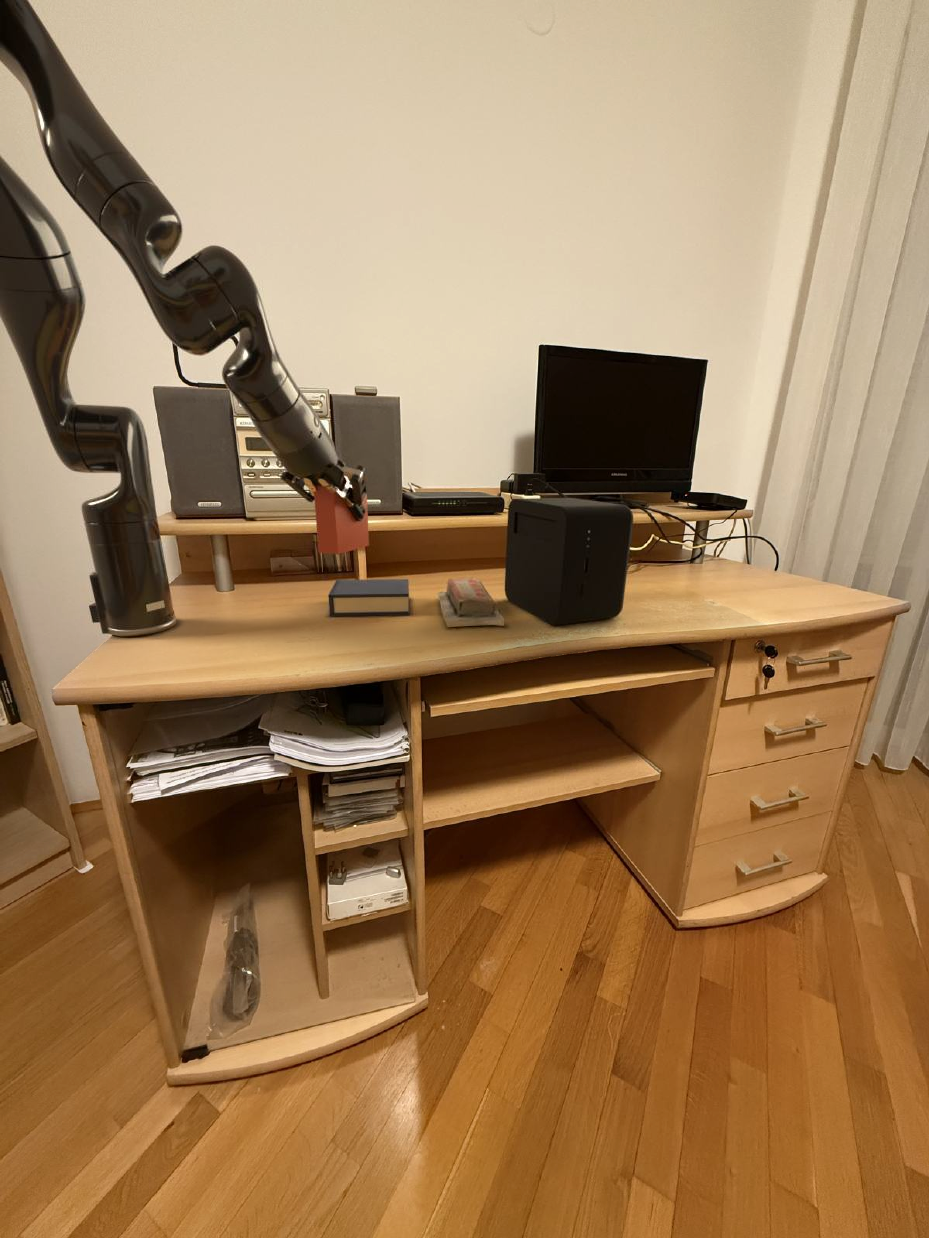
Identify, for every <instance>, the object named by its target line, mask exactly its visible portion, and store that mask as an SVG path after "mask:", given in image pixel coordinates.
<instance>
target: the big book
mask: <svg viewBox="0 0 929 1238" xmlns="http://www.w3.org/2000/svg"><path fill="white" fill-rule="evenodd" d="M409 583H410V582H409V579H408V578H401V579H400V578H397V579H395V578H394V579H392V578H391V579H390V578H389V579H336V580H335V582H334V584H333V585H332V587H331V589H330V591H329V592H328V595H327V596H328V608H329V609H328V610H329V617H375V616H379V617H380V616H381V617H383V616H410V587H409Z"/></svg>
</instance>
